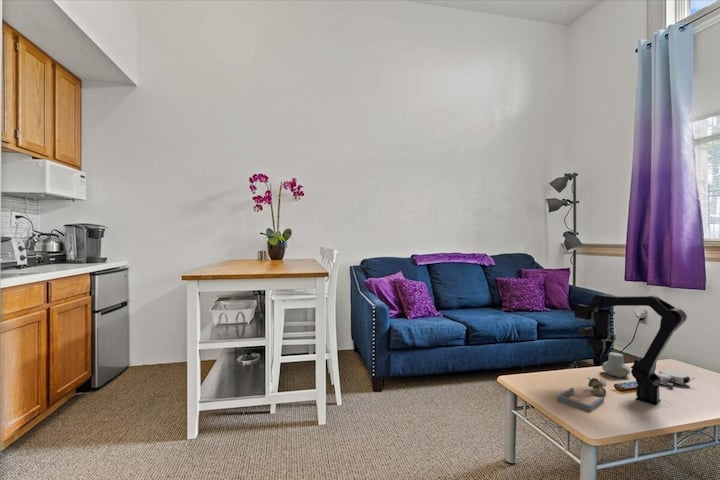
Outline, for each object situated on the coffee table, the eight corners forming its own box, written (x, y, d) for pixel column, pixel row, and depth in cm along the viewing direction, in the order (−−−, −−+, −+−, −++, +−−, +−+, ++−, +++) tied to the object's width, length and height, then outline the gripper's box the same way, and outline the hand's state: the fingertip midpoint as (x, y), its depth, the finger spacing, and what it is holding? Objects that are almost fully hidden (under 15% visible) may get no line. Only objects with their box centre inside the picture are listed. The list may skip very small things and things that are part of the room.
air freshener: (606, 377, 171) (606, 355, 172) (599, 371, 180) (599, 350, 180) (633, 379, 169) (633, 357, 169) (624, 373, 177) (624, 352, 177)
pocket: (604, 402, 144) (604, 395, 144) (590, 412, 136) (590, 404, 136) (571, 392, 153) (571, 385, 153) (557, 400, 145) (557, 393, 145)
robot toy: (672, 392, 157) (696, 386, 161) (671, 381, 157) (696, 375, 161) (642, 381, 169) (666, 376, 173) (642, 372, 169) (665, 366, 173)
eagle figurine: (582, 384, 160) (583, 387, 152) (592, 371, 159) (594, 374, 151) (599, 397, 156) (601, 401, 148) (610, 384, 155) (613, 387, 147)
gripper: (588, 317, 173) (587, 350, 173) (573, 322, 161) (573, 358, 161) (616, 321, 164) (615, 355, 164) (603, 327, 152) (602, 364, 152)
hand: (601, 358), depth 161 cm, fingers open, 9 cm apart
